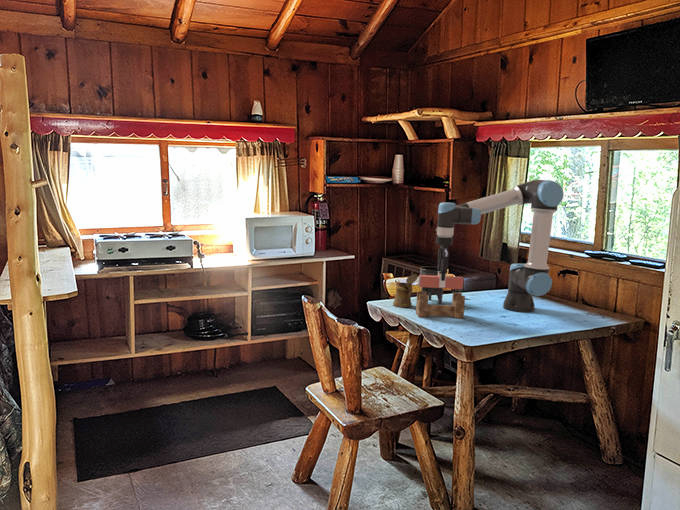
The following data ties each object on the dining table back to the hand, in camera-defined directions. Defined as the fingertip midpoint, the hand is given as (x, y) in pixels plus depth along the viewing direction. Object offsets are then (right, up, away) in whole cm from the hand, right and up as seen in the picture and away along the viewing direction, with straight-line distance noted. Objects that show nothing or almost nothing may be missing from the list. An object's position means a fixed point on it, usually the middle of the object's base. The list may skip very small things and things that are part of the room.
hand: (441, 286), depth 275 cm
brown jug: (-15, -11, +17) cm, 26 cm away
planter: (0, -10, +29) cm, 31 cm away
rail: (0, 0, 0) cm, 1 cm away
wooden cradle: (0, -14, +2) cm, 14 cm away
